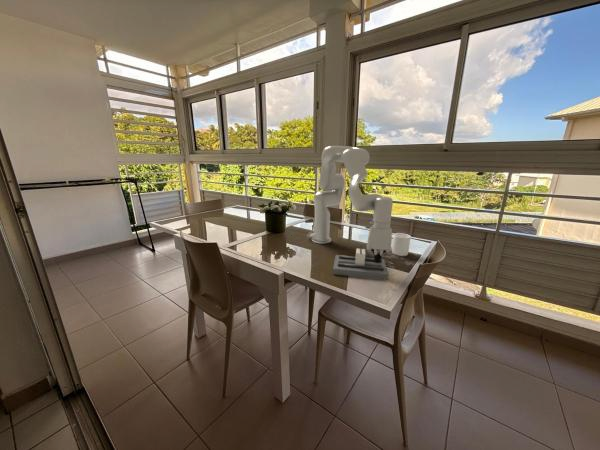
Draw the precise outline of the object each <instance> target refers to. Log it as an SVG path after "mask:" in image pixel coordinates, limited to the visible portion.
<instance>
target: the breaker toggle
mask: <svg viewBox="0 0 600 450" xmlns="http://www.w3.org/2000/svg"><path fill="white" fill-rule="evenodd" d="M355 257H356V259H355V265H361V266H364V264H365V258H366V249H365V248H356V250H355Z"/></svg>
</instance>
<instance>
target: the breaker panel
mask: <svg viewBox="0 0 600 450" xmlns="http://www.w3.org/2000/svg"><path fill="white" fill-rule="evenodd" d="M355 259H356V256H350V255H340V254H336V255H335V256H334V262H333V267H332V274H333V275H340V276H348V277H356V278H365V279H375V280H385V281H388V278H389V272H388V269H387V266H386V265H387V264H386V260H385V259H382V258H381V261H379V263H375V261H374V257H373V258H371V257H365V264H364V266H361V265H355Z"/></svg>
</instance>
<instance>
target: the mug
mask: <svg viewBox="0 0 600 450" xmlns="http://www.w3.org/2000/svg"><path fill="white" fill-rule="evenodd" d="M410 244H411V235H410V234H407V233H403V232H395V233H393V235H392V244H391V253H392V254H393V255H396V256H399V257H406V256H408V254H409V250H410V246H411V245H410Z"/></svg>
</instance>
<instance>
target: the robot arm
mask: <svg viewBox="0 0 600 450" xmlns="http://www.w3.org/2000/svg"><path fill="white" fill-rule="evenodd" d="M370 157H371V156H370V153H369V151H368V150H366V149H365V148H359V147H356V146H350V145H349V146H347V145H346V146H345V145H329V146H326V147H324V148H323V150H322V152H321V168H320V173H319V178H318V187H319V189H320V190H321V191H317V192H316V193H314V195H313V205H314V226H313V232H312V233H310V234H309V235H308V238H311V241H312V243H315V244H320V245H321V244H325V245H326V244H329V243H331V242H332V238H331V237H330V227H331V226H330V225H331V223H330V222H331V212H330V210H329V209H328V207H335V206H338V205H340V203H341V201H342V197H343V193H344V190H345V189H344V188H345V177H344V175H342V173H336V171H337V166H336V163H343V165H344V167H345V170H346V171H347V175H348V176H349V178H350V181H349V185H348V196H349V200H350V202H351V204H352V207H353V208H354V209H355V210H356V211H357V212H368V211H369V212H370V211H373V216H372V220H371V221H369V222H368V224H369V225H370V227H369V232H368V236H367V237H368V238H367V245H366V250H368V251H371V252H372V253H373V254H374V255H373V258H374V261H375V263H379V261H381V259H382V256H383V255H384V254H385V253H389V252H392V250H391V247H392V244H393V239H392V236H393V230H392V227H391V219H392V211H393V203H394V201H393V198H392V197H388V196H383V195H381V194H377V193H371V194H370V193H368V194H363V193H362V191H361V188H360V183H361V182H362V181H364V180H365V179H366V178H367V176H368V170H367V169H366V166H367V164H369V162H370Z"/></svg>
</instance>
